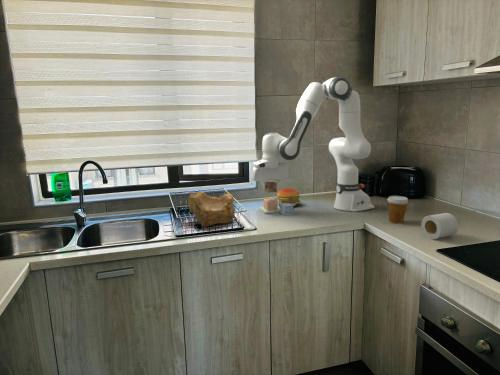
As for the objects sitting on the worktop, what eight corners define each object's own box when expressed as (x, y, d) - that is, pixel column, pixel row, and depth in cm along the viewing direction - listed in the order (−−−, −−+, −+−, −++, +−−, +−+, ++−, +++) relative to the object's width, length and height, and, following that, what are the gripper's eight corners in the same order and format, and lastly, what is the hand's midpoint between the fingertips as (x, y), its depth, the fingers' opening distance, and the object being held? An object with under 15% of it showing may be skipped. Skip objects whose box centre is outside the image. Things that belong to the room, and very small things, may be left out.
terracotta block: (273, 206, 206) (273, 198, 205) (277, 209, 201) (277, 200, 200) (263, 207, 205) (263, 199, 203) (267, 210, 199) (267, 201, 198)
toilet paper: (436, 231, 165) (439, 210, 163) (456, 238, 156) (459, 216, 154) (420, 235, 161) (422, 213, 159) (439, 242, 152) (441, 219, 150)
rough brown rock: (185, 231, 174) (184, 201, 169) (189, 217, 189) (188, 190, 185) (234, 231, 175) (234, 201, 170) (234, 218, 190) (234, 190, 186)
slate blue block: (288, 211, 201) (288, 202, 200) (293, 214, 195) (293, 205, 194) (279, 212, 199) (280, 203, 198) (284, 215, 194) (284, 206, 193)
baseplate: (275, 207, 209) (275, 205, 209) (282, 211, 200) (282, 210, 200) (258, 209, 206) (258, 207, 206) (265, 213, 197) (265, 212, 196)
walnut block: (272, 189, 204) (272, 180, 203) (276, 191, 198) (276, 182, 197) (263, 190, 202) (263, 181, 201) (267, 192, 197) (268, 183, 196)
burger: (273, 203, 218) (273, 187, 216) (293, 201, 223) (294, 185, 220) (282, 209, 206) (282, 191, 204) (304, 206, 210) (304, 189, 208)
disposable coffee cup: (410, 221, 180) (412, 197, 178) (401, 225, 174) (403, 201, 171) (391, 217, 187) (393, 194, 184) (382, 221, 181) (383, 197, 178)
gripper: (285, 161, 203) (285, 185, 206) (250, 163, 197) (250, 188, 200) (290, 162, 198) (290, 187, 200) (254, 164, 191) (254, 190, 194)
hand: (270, 188), depth 200 cm, fingers closed on walnut block, 5 cm apart
